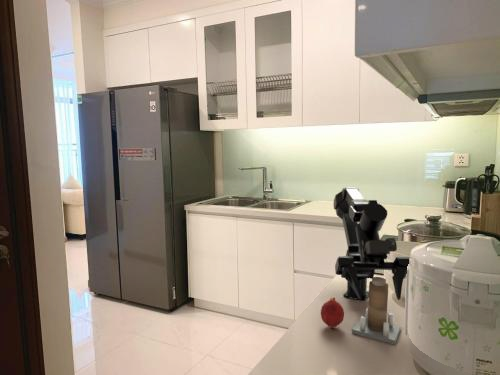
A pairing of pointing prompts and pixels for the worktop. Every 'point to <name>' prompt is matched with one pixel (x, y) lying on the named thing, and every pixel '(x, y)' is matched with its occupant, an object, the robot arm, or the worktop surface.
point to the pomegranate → (332, 313)
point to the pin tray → (387, 335)
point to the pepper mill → (377, 304)
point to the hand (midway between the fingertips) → (379, 298)
